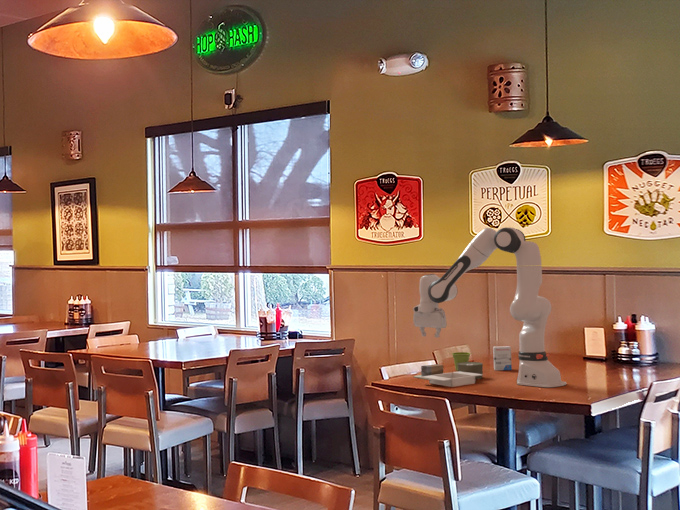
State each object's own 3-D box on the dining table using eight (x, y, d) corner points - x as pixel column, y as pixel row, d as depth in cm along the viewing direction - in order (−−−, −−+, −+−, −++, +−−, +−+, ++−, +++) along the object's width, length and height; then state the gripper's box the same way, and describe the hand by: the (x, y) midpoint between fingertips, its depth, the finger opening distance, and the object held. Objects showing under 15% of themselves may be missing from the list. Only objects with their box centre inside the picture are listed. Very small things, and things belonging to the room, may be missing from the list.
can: (483, 376, 388) (483, 361, 389) (482, 379, 377) (482, 365, 377) (458, 375, 391) (458, 361, 391) (456, 379, 379) (456, 365, 379)
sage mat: (448, 377, 386) (448, 376, 386) (430, 380, 379) (430, 378, 379) (432, 374, 396) (431, 373, 396) (413, 377, 389) (413, 376, 389)
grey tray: (483, 382, 370) (483, 374, 370) (443, 388, 355) (443, 380, 355) (460, 378, 382) (460, 371, 382) (421, 384, 367) (420, 376, 367)
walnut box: (443, 375, 389) (443, 364, 389) (427, 377, 383) (427, 366, 383) (437, 374, 393) (436, 363, 393) (421, 376, 387) (421, 365, 387)
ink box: (510, 369, 410) (510, 345, 410) (511, 370, 405) (511, 346, 405) (493, 369, 411) (493, 346, 411) (494, 370, 406) (493, 347, 406)
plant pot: (465, 372, 402) (465, 354, 402) (448, 370, 408) (448, 353, 408) (474, 369, 410) (473, 352, 410) (457, 368, 416) (457, 351, 416)
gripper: (449, 308, 381) (450, 337, 381) (420, 307, 398) (421, 335, 398) (439, 308, 377) (440, 338, 377) (410, 307, 394) (411, 336, 394)
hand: (430, 336), depth 388 cm, fingers open, 8 cm apart
